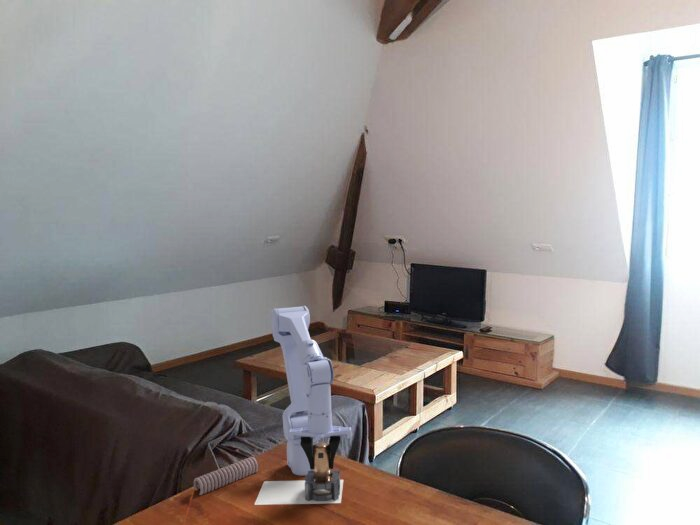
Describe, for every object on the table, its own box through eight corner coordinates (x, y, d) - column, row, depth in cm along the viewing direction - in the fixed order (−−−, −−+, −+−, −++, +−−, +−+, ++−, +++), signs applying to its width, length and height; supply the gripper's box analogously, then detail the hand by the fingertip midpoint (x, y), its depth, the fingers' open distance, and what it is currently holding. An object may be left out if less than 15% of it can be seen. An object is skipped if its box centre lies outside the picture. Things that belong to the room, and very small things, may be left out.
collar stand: (304, 501, 130) (303, 484, 130) (308, 485, 138) (307, 469, 138) (338, 500, 130) (338, 484, 129) (340, 485, 138) (340, 469, 137)
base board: (254, 508, 130) (254, 504, 129) (264, 485, 142) (264, 481, 141) (341, 507, 129) (340, 502, 129) (343, 483, 141) (343, 479, 141)
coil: (200, 483, 135) (261, 459, 147) (190, 476, 138) (250, 453, 151) (200, 501, 135) (261, 476, 148) (190, 494, 138) (250, 469, 151)
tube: (314, 479, 135) (313, 442, 135) (331, 478, 135) (329, 442, 135) (313, 487, 131) (311, 449, 131) (330, 486, 131) (329, 449, 131)
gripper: (286, 417, 129) (289, 475, 130) (349, 416, 128) (351, 474, 129) (290, 407, 136) (293, 462, 137) (350, 406, 135) (352, 461, 136)
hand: (322, 467), depth 133 cm, fingers closed on tube, 4 cm apart
